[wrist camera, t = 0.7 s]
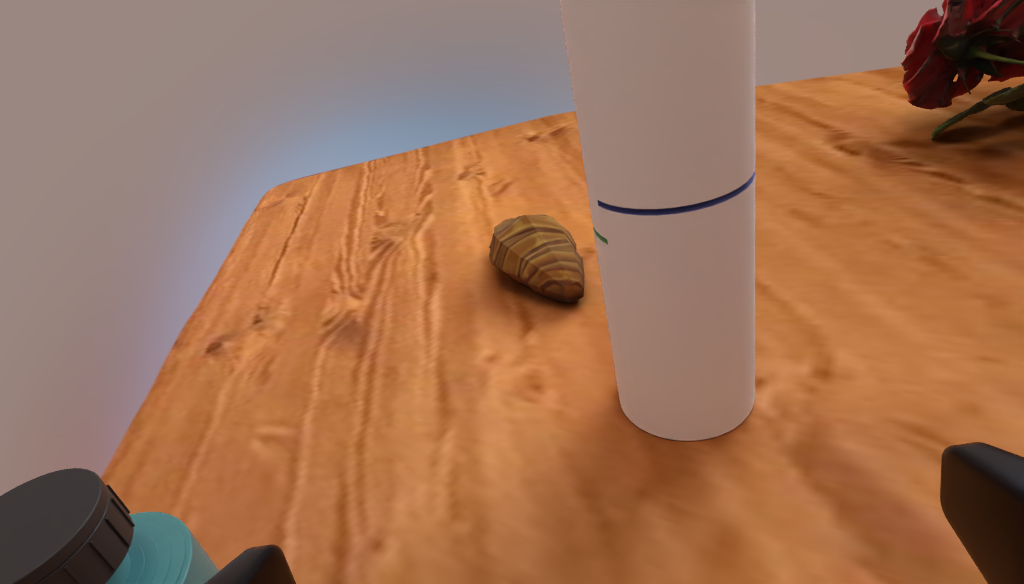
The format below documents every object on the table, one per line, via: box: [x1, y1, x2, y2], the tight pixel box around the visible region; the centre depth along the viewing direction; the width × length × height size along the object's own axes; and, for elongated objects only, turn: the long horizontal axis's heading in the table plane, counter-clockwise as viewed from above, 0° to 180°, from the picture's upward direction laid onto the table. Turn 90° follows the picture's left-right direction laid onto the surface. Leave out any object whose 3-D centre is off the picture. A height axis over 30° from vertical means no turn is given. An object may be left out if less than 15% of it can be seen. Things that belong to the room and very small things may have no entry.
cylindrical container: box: [559, 0, 755, 441], centre depth 27 cm, size 7×7×25 cm
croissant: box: [489, 215, 584, 303], centre depth 47 cm, size 14×7×5 cm, turn 23°
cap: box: [0, 468, 135, 584], centre depth 17 cm, size 4×4×2 cm
